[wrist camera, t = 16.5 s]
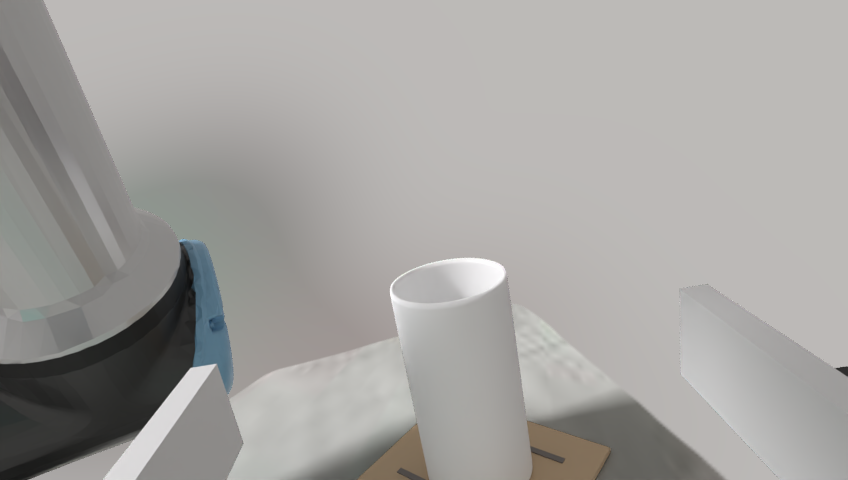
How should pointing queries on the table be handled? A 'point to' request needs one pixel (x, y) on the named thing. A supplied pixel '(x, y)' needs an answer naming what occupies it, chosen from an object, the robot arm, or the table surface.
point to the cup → (463, 369)
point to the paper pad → (550, 449)
